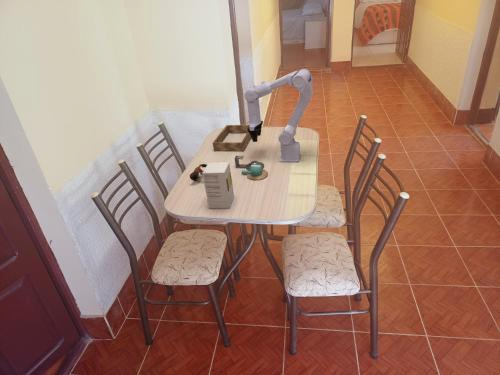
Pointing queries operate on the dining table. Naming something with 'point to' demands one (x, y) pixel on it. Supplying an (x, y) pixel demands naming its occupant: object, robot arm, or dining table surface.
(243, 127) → the tray
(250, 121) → the robot arm
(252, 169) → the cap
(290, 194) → the dining table surface
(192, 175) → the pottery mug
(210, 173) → the supplement box
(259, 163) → the dark grey handled bowl
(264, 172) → the coaster
